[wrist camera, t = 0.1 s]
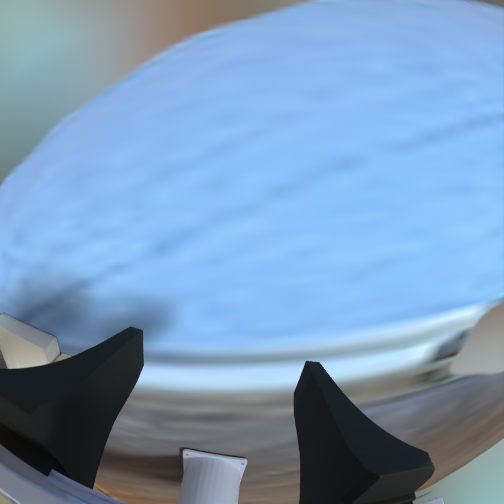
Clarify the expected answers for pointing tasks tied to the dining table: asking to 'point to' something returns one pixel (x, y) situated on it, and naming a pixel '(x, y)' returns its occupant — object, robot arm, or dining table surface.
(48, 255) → the dining table surface
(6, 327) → the tray
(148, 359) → the dining table surface
